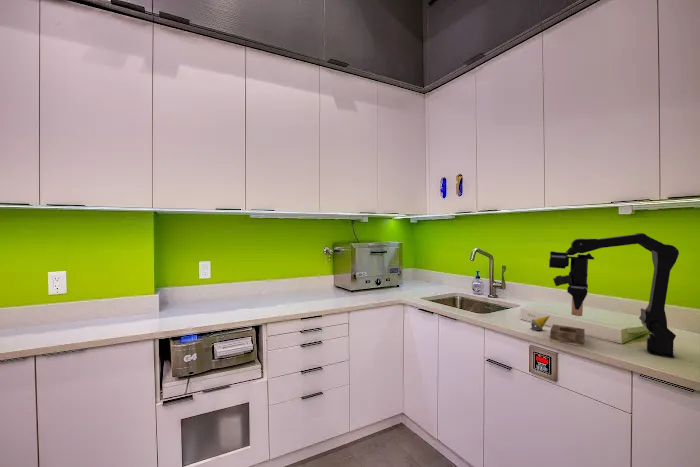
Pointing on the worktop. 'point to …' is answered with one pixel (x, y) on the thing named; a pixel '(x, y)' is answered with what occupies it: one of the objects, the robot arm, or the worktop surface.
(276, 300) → the worktop surface
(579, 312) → the peg
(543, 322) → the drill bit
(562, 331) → the hole block
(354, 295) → the worktop surface
